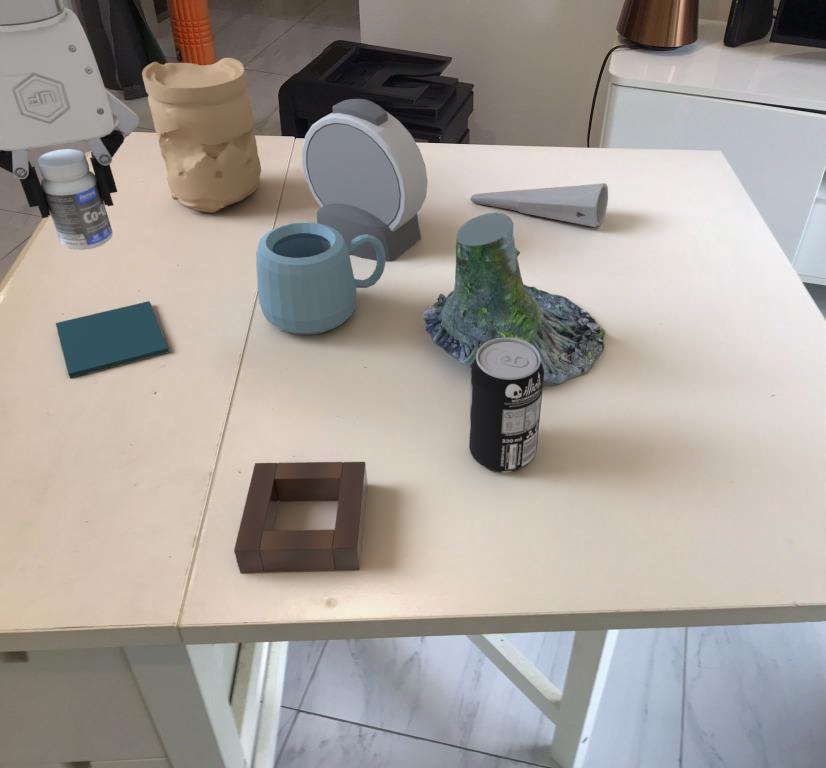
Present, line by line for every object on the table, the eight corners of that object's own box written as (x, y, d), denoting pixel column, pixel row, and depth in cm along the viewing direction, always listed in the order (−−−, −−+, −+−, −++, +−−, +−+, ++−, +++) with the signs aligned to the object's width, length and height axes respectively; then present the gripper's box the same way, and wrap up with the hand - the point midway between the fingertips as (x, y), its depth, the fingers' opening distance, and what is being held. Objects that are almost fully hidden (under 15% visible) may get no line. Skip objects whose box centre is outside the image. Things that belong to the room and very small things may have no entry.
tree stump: (620, 394, 87) (601, 261, 75) (440, 428, 88) (393, 303, 76) (594, 292, 100) (575, 164, 88) (438, 323, 102) (398, 202, 89)
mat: (70, 378, 84) (68, 373, 83) (57, 327, 90) (55, 322, 90) (169, 352, 88) (168, 347, 87) (150, 305, 94) (149, 300, 94)
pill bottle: (102, 252, 77) (75, 170, 71) (52, 250, 76) (22, 167, 71) (121, 228, 80) (98, 148, 75) (73, 225, 80) (46, 145, 75)
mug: (373, 275, 102) (368, 203, 95) (402, 322, 94) (399, 248, 88) (253, 299, 96) (239, 224, 90) (274, 351, 89) (261, 275, 82)
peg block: (239, 573, 66) (233, 550, 65) (260, 485, 74) (254, 462, 72) (359, 570, 67) (357, 547, 65) (367, 483, 75) (365, 461, 73)
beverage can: (478, 424, 82) (481, 329, 74) (541, 435, 81) (551, 340, 73) (461, 469, 77) (463, 373, 69) (529, 482, 76) (538, 386, 68)
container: (167, 185, 117) (136, 58, 105) (255, 172, 121) (235, 49, 110) (179, 225, 108) (147, 92, 97) (273, 210, 113) (254, 82, 101)
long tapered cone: (487, 194, 123) (608, 210, 117) (471, 217, 119) (595, 234, 113) (483, 161, 119) (608, 175, 113) (466, 183, 115) (595, 199, 109)
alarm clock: (439, 236, 110) (438, 105, 98) (398, 270, 103) (391, 133, 91) (343, 205, 115) (331, 77, 103) (296, 236, 108) (278, 102, 96)
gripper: (-118, 23, 58) (-23, 243, 70) (130, 2, 65) (178, 205, 77) (-116, -4, 63) (-28, 205, 75) (114, -21, 70) (162, 173, 82)
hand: (76, 203), depth 76 cm, fingers closed on pill bottle, 4 cm apart
